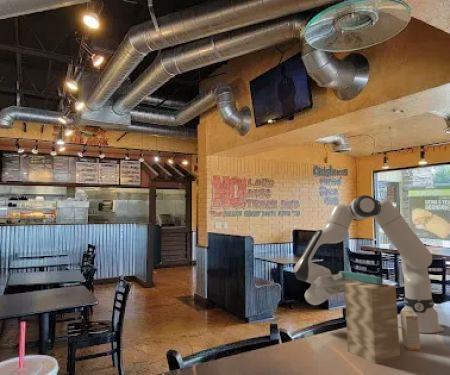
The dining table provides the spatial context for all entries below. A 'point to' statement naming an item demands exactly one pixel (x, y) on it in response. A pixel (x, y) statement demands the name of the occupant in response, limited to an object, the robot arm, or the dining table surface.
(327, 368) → the dining table surface
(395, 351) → the birch post
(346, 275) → the teal bar
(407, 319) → the supplement box
